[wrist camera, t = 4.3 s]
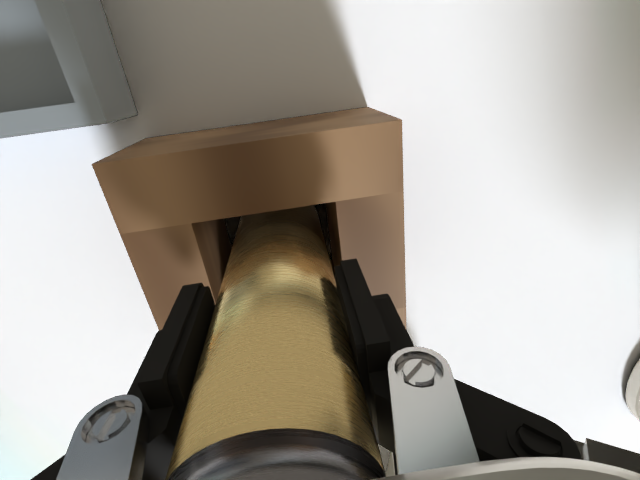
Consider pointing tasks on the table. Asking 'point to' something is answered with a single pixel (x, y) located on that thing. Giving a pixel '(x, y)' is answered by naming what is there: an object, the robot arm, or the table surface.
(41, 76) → the parts tray
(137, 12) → the table surface
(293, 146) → the brown square frame
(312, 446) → the brass pin
